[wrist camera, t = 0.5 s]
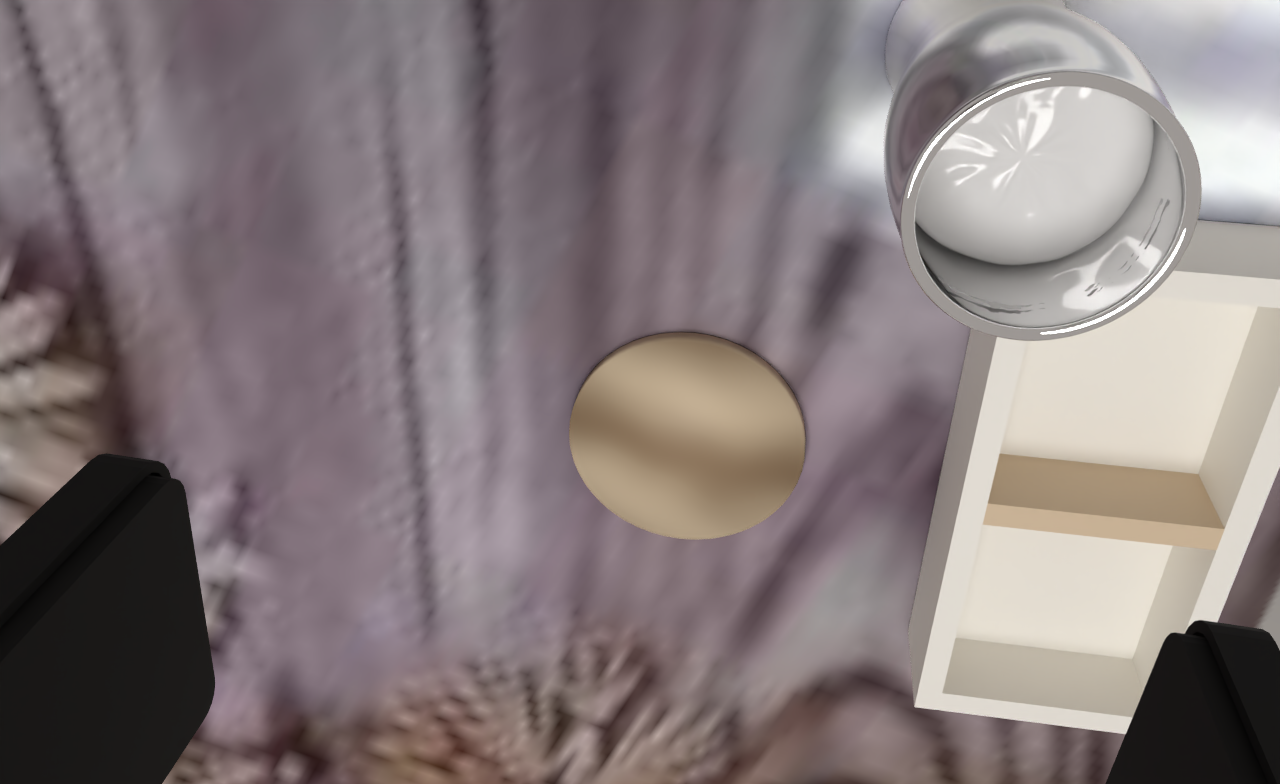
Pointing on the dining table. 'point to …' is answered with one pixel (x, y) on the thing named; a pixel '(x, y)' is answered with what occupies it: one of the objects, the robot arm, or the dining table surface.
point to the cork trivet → (688, 436)
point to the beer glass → (1032, 166)
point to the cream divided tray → (1101, 493)
